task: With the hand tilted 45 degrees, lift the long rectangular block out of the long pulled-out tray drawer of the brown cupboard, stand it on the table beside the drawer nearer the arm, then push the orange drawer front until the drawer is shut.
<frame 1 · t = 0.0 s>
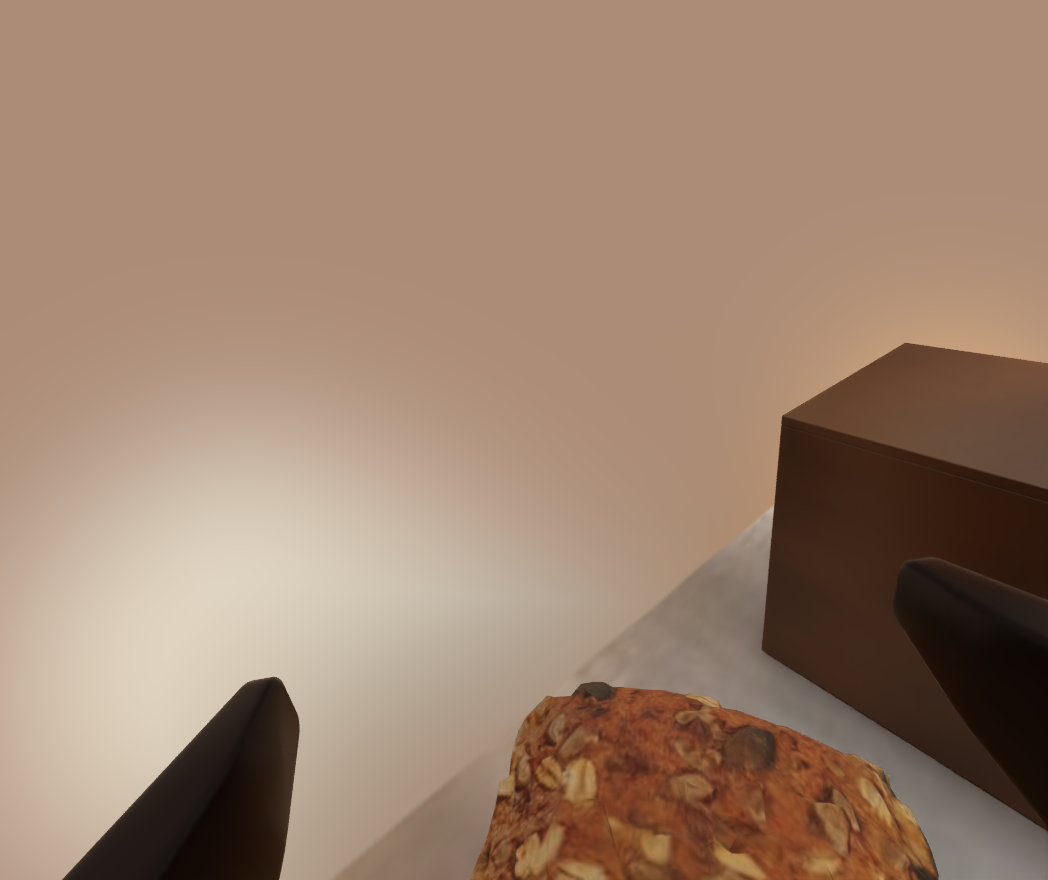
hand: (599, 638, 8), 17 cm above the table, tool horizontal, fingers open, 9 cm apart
brown cupboard: (1025, 703, 23), on the table
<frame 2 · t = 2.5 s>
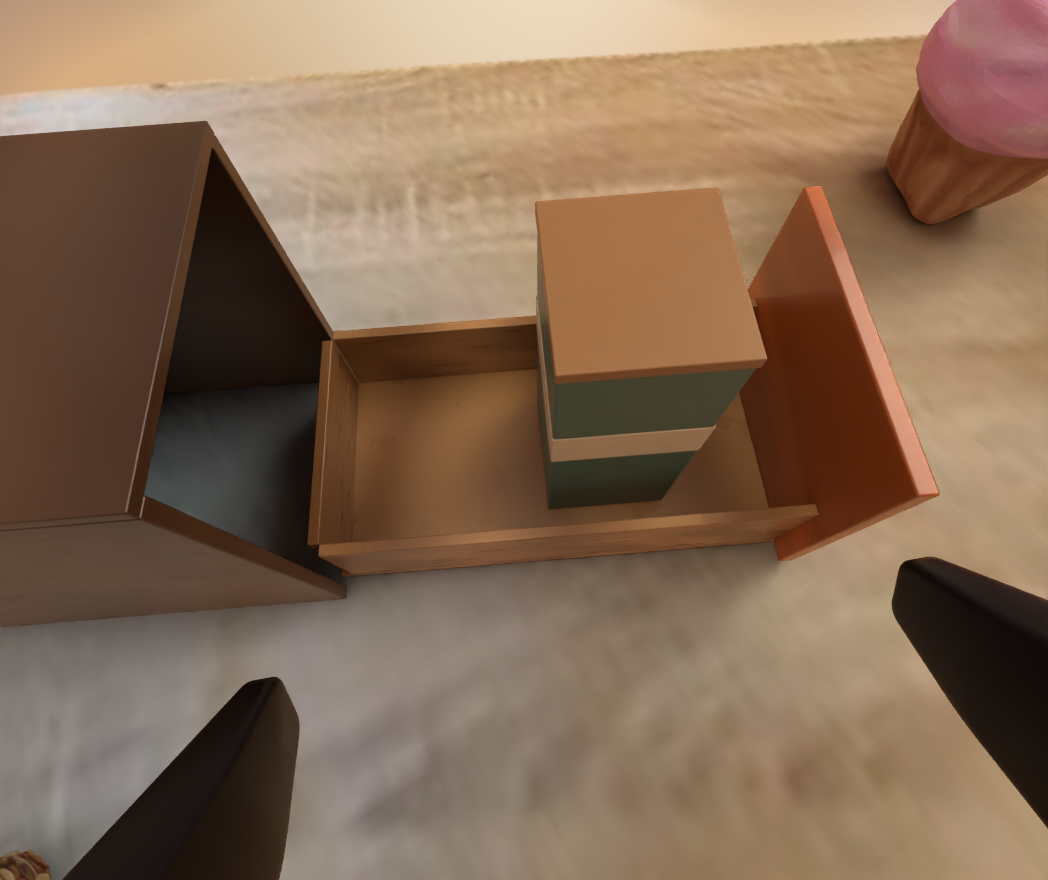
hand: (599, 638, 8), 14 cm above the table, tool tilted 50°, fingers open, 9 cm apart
cupcake: (933, 193, 30), on the table
long rectangular block: (597, 447, 23), point 1 cm above the table, touching drawer
drawer: (579, 409, 20), point 5 cm above the table, slide at 16.7 cm, touching long rectangular block
brown cupboard: (148, 490, 24), on the table
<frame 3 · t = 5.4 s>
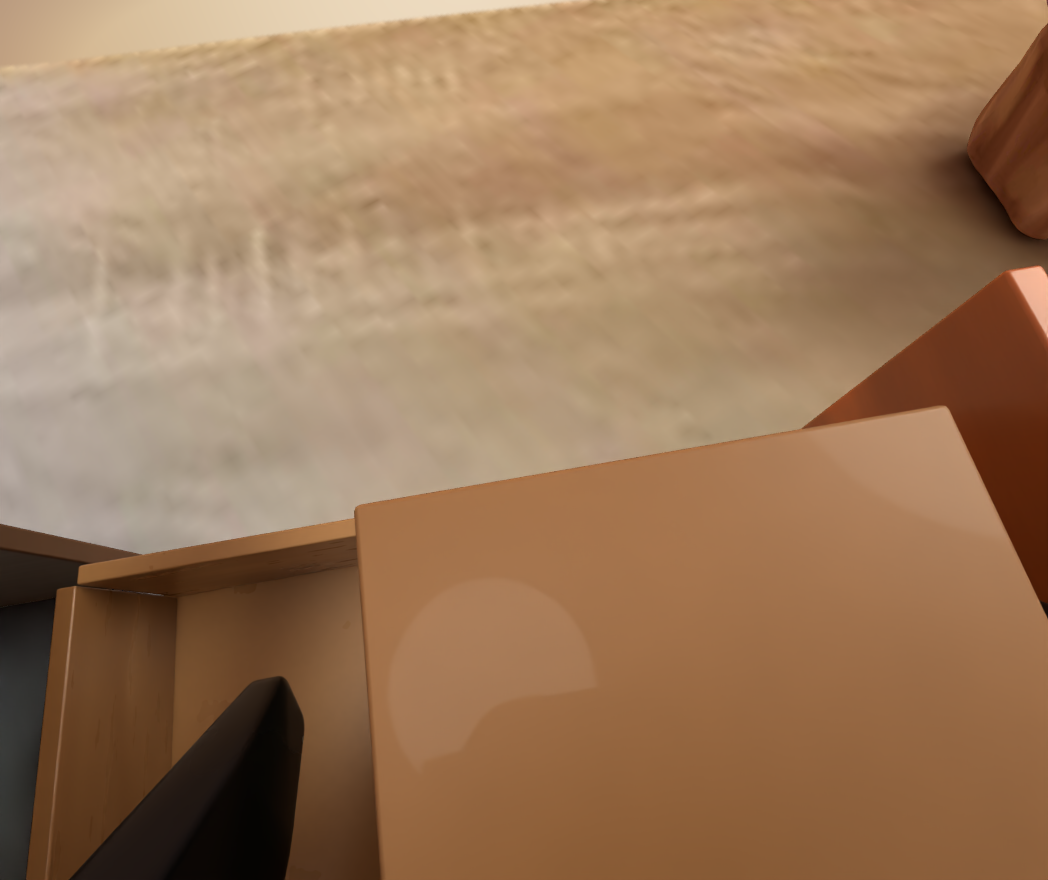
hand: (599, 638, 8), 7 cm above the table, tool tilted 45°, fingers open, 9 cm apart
cupcake: (1035, 189, 20), on the table
long rectangular block: (587, 688, 14), point 1 cm above the table, touching drawer
drawer: (553, 716, 10), point 5 cm above the table, slide at 17.0 cm, touching long rectangular block
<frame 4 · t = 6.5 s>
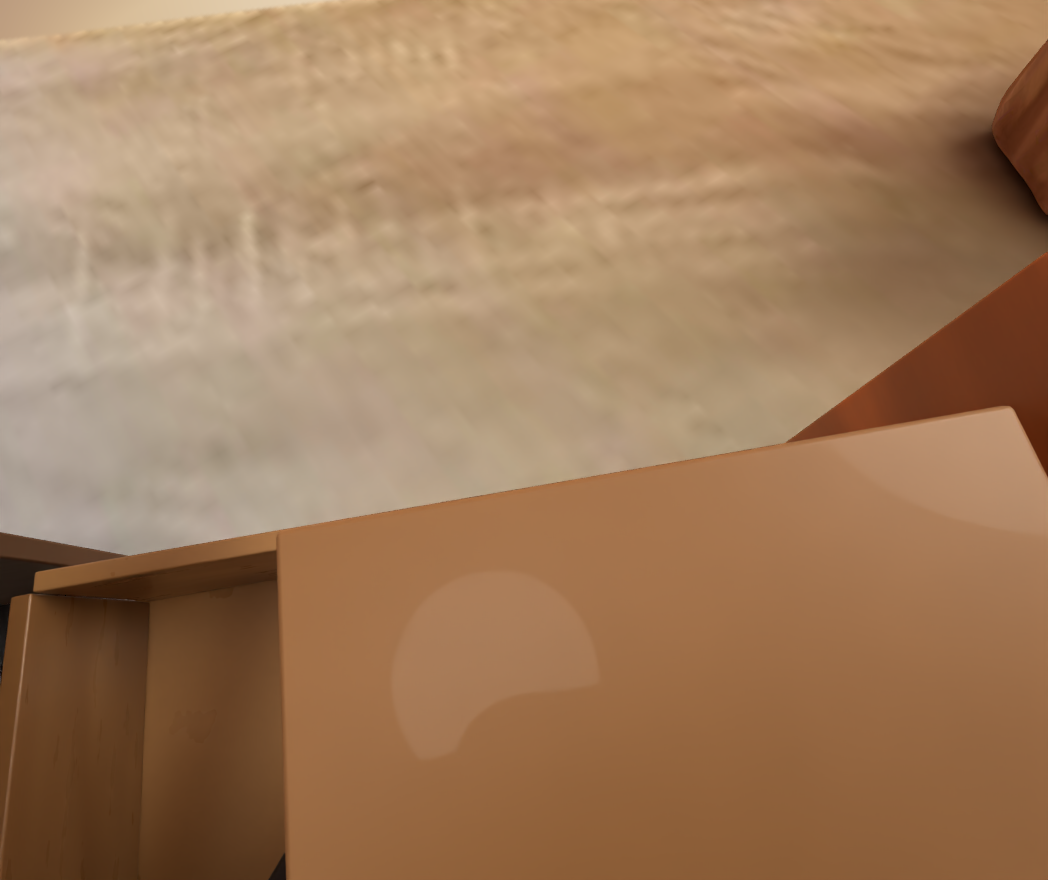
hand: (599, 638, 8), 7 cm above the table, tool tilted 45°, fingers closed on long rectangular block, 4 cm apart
long rectangular block: (582, 698, 13), point 1 cm above the table, touching drawer, gripper
drawer: (543, 737, 9), point 5 cm above the table, slide at 16.7 cm, touching long rectangular block
when the fingers open (6 cm above the table, at t = 12.0 s): long rectangular block stays where it is, on the table.
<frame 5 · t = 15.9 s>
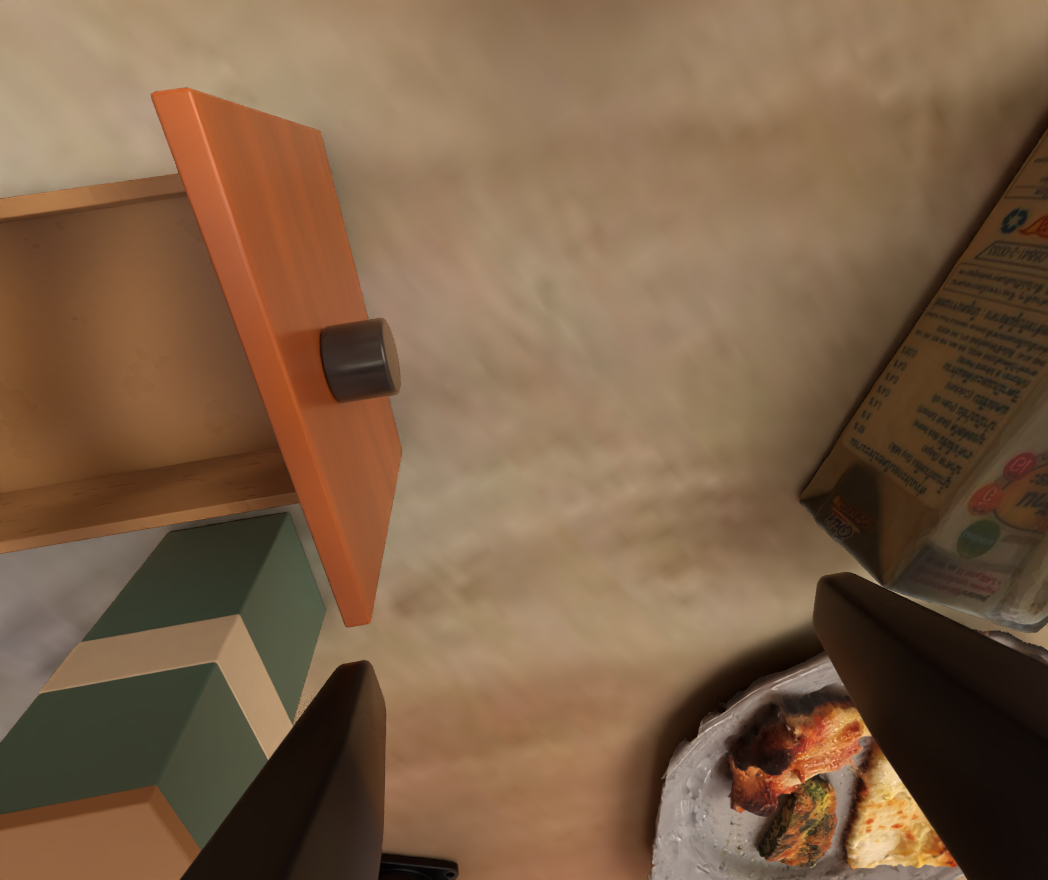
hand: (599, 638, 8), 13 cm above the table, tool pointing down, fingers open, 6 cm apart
long rectangular block: (251, 573, 22), on the table
drawer: (15, 400, 14), point 5 cm above the table, slide at 16.7 cm
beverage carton: (994, 324, 21), on the table
food plate: (835, 762, 33), on the table
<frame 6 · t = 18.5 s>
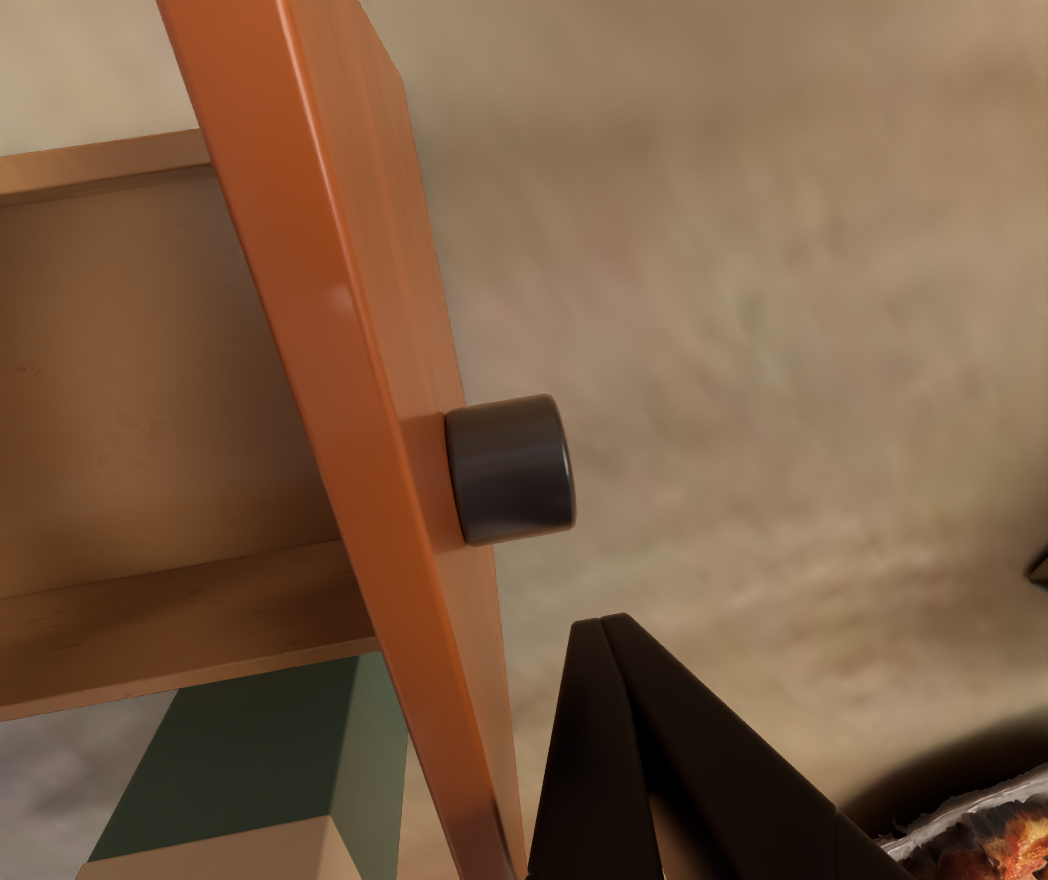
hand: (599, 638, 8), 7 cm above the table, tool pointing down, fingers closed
long rectangular block: (313, 686, 17), on the table
food plate: (995, 868, 27), on the table
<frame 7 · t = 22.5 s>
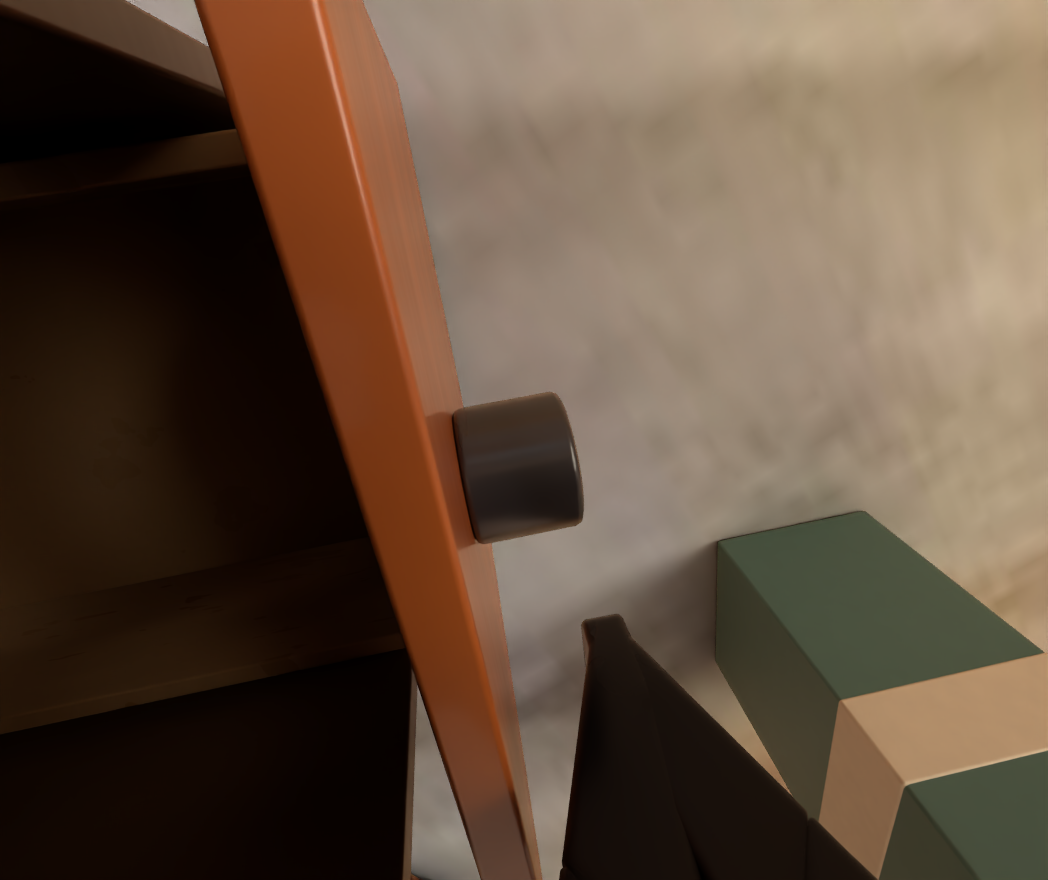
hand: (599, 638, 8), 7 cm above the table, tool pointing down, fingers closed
long rectangular block: (785, 589, 17), on the table
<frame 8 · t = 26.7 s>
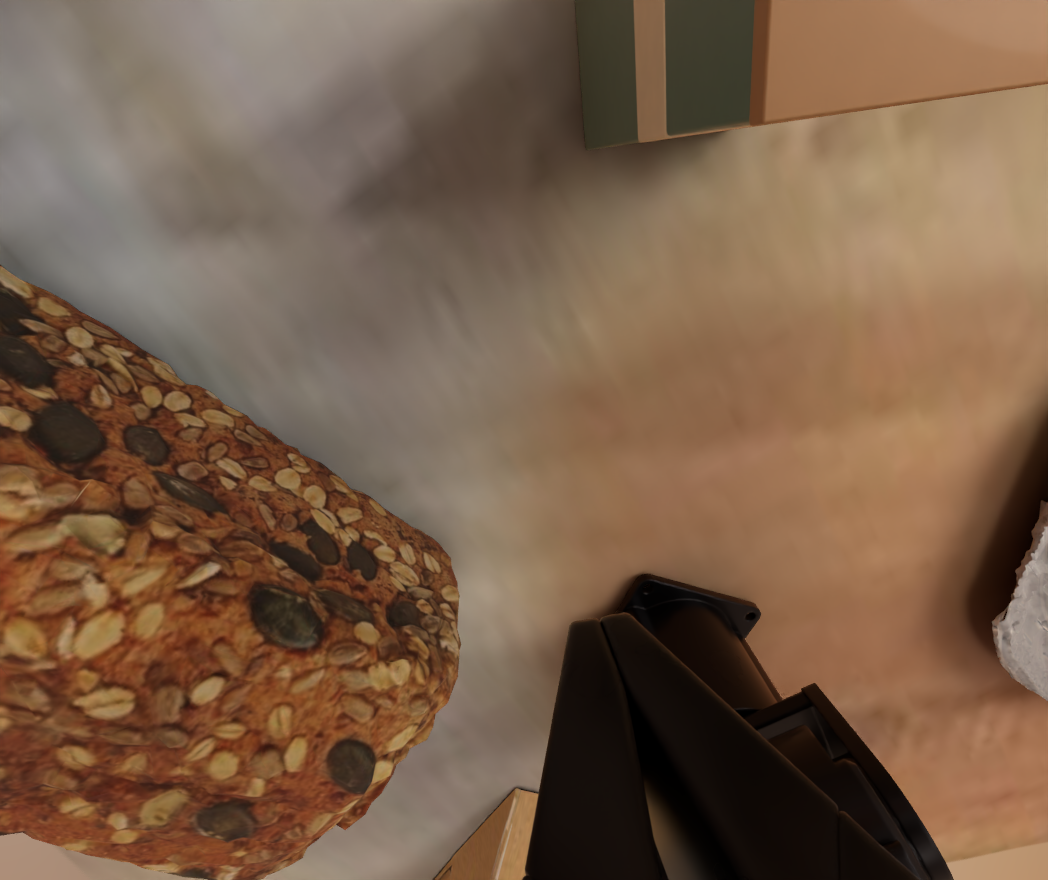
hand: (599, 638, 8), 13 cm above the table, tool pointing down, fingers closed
long rectangular block: (656, 42, 16), on the table
bread: (190, 503, 21), on the table
sandwich container: (509, 872, 34), on the table
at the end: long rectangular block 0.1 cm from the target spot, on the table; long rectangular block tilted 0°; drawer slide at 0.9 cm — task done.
